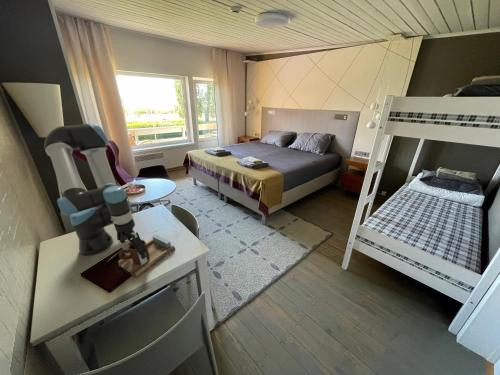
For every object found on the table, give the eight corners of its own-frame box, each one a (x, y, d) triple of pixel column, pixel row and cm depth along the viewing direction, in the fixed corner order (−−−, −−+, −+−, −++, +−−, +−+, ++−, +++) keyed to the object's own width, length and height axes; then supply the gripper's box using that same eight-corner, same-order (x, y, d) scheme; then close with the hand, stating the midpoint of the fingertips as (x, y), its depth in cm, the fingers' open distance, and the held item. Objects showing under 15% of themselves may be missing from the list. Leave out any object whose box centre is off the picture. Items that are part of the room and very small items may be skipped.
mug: (124, 272, 95) (118, 257, 91) (121, 263, 100) (116, 248, 96) (151, 260, 101) (147, 245, 97) (147, 252, 107) (143, 237, 103)
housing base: (118, 265, 100) (116, 261, 99) (157, 240, 117) (156, 236, 116) (136, 278, 93) (134, 274, 92) (175, 249, 110) (174, 245, 109)
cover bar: (154, 242, 114) (152, 236, 112) (157, 240, 115) (155, 234, 113) (168, 249, 108) (166, 243, 106) (171, 247, 109) (170, 241, 108)
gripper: (100, 217, 93) (114, 253, 102) (131, 233, 81) (144, 273, 90) (116, 209, 99) (128, 244, 108) (148, 224, 87) (159, 262, 96)
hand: (135, 257), depth 99 cm, fingers open, 13 cm apart
